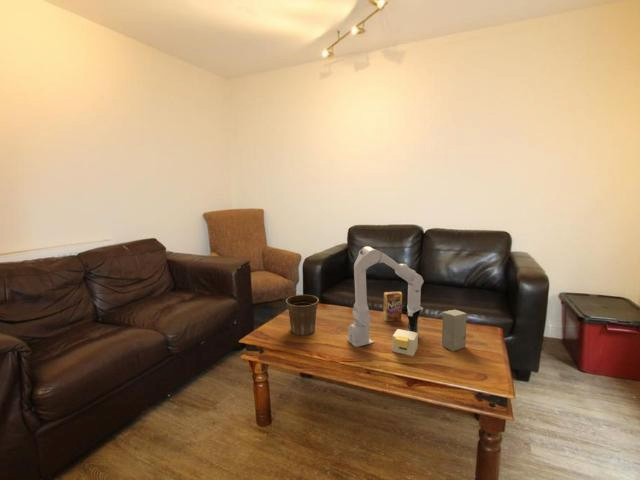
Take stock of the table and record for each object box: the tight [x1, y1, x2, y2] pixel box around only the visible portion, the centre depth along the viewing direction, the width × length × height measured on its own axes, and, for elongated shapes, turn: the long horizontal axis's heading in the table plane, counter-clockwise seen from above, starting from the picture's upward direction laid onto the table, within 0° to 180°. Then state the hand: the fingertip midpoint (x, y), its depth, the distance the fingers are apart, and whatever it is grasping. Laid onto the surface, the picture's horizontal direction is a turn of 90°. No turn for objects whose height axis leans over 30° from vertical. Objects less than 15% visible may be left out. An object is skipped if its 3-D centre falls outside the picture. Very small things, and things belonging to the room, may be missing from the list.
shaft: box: [400, 320, 419, 350], centre depth 144 cm, size 21×4×6 cm, turn 151°
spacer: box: [395, 335, 409, 348], centre depth 134 cm, size 4×5×3 cm
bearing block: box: [391, 328, 419, 357], centre depth 139 cm, size 8×9×7 cm
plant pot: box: [285, 294, 320, 336], centre depth 159 cm, size 16×16×16 cm
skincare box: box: [441, 309, 467, 352], centre depth 140 cm, size 8×7×16 cm
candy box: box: [382, 291, 403, 322], centre depth 171 cm, size 9×4×15 cm, turn 98°
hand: (413, 325), depth 152 cm, fingers closed on shaft, 3 cm apart
